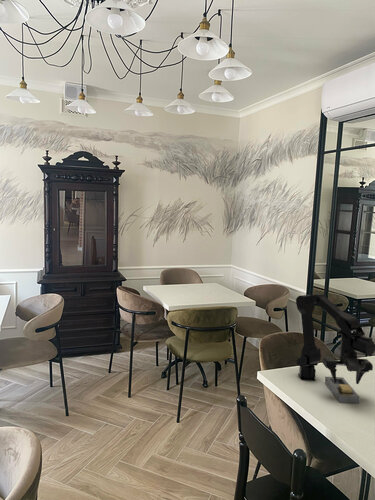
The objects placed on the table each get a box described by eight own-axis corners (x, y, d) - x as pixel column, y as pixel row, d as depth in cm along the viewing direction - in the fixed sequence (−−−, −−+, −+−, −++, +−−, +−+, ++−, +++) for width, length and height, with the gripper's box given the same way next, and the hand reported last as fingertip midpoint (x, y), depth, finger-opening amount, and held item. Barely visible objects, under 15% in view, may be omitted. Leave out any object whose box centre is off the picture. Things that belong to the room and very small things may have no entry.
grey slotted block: (338, 402, 145) (339, 395, 145) (324, 382, 163) (325, 376, 163) (358, 403, 145) (359, 396, 145) (342, 383, 163) (342, 377, 163)
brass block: (341, 400, 148) (342, 388, 147) (338, 395, 152) (338, 384, 151) (351, 400, 148) (352, 389, 147) (347, 396, 152) (348, 384, 151)
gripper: (331, 353, 140) (329, 391, 142) (380, 355, 139) (377, 393, 140) (322, 343, 151) (321, 379, 153) (367, 345, 150) (365, 381, 152)
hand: (345, 383), depth 149 cm, fingers open, 9 cm apart
